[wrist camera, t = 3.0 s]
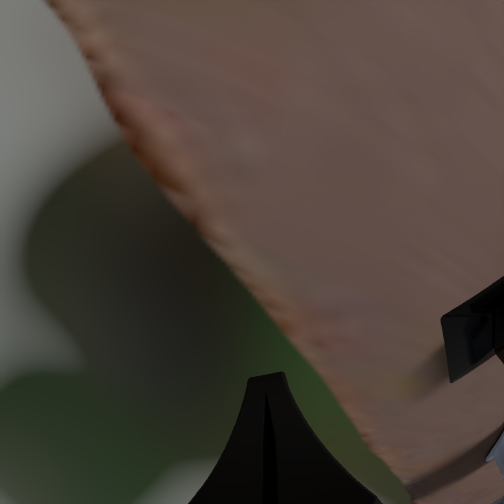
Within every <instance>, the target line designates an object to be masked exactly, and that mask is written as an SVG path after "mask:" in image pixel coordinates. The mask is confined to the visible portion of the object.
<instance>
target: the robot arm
mask: <svg viewBox="0 0 504 504" xmlns="http://www.w3.org/2000/svg"><path fill="white" fill-rule="evenodd" d="M493 458H494V460H495V462H496V464H497V466H498V468H499V470H500V472H501V474H502V476H503V478H504V432H503V433H502V435H501V436H500V438H499V440H498V441H497V443H496V444H495V446H494V447H493V449H492V450H491V452H490V453H489V455H488V456H487V457H486V461H487V462H488V461H490V460H492V459H493ZM188 504H382V503H381V501H380V500H379V499H378V498H377V496H376V495H374V494H373V493H372V492H371V491H369V490H368V489H367V488H366V487H364V486H363V485H362V484H361V483H360V482H358V481H357V480H356V479H355V478H354V477H353V476H352V475H351V474H350V473H349V472H348V471H347V470H346V469H345V468H344V467H343V466H342V465H341V464H340V463H339V462H338V461H337V460H336V459H335V458H334V457H333V456H332V454H331V453H330V452H329V451H328V450H327V449H326V447H325V446H324V445H323V444H322V443H321V441H320V440H319V439H318V437H317V436H316V435H315V433H314V432H313V430H312V429H311V427H310V426H309V425H308V423H307V421H306V420H305V418H304V417H303V415H302V413H301V411H300V410H299V408H298V406H297V404H296V402H295V400H294V398H293V396H292V394H291V392H290V389H289V387H288V383H287V379H286V376H285V373H284V372H277V373H272V374H267V375H262V376H256V377H251V378H249V379H248V383H247V387H246V392H245V396H244V400H243V403H242V406H241V409H240V412H239V415H238V419H237V421H236V424H235V426H234V429H233V431H232V434H231V436H230V438H229V441H228V443H227V445H226V447H225V449H224V451H223V453H222V455H221V457H220V459H219V461H218V462H217V464H216V466H215V467H214V469H213V471H212V472H211V474H210V475H209V477H208V479H207V480H206V481H205V483H204V484H203V486H202V487H201V488H200V489H199V491H198V492H197V493H196V495H195V496H194V497H193V498H192V500H191V501H190V502H189V503H188ZM491 504H504V496H503V497H502V498H500V499H498V500H497V501H495V502H493V503H491Z"/></svg>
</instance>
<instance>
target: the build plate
mask: <svg viewBox="0 0 504 504" xmlns="http://www.w3.org/2000/svg"><path fill="white" fill-rule="evenodd" d="M441 326H442V331H443V337H444V343H445V349H446V355H447V362H448V369H449V377H450V383H453V382H455V381H456V380H458V379H460V378H461V377H463V376H464V375H466V374H467V373H469V372H471V371H472V370H474V369H475V368H477V367H478V366H480V365H481V364H483V363H484V362H486V361H487V360H488V359H490V358H491V357H493V356H494V355H495V354H496V355H497V356H498V357H499V359H500V360H501V361H502V362H503V364H504V276H503V277H502V278H500V279H499V280H497V281H496V282H494V283H493V284H491V285H490V286H489V287H487V288H486V289H484V290H483V291H481V292H480V293H478V294H477V295H475V296H474V297H472V298H470V299H469V300H467V301H466V302H464V303H463V304H461V305H459V306H458V307H456V308H455V309H453V310H451V311H450V312H448V313H446V314H445V315H443V316H442V317H441Z"/></svg>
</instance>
